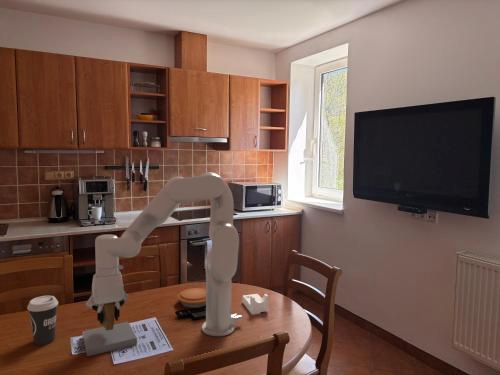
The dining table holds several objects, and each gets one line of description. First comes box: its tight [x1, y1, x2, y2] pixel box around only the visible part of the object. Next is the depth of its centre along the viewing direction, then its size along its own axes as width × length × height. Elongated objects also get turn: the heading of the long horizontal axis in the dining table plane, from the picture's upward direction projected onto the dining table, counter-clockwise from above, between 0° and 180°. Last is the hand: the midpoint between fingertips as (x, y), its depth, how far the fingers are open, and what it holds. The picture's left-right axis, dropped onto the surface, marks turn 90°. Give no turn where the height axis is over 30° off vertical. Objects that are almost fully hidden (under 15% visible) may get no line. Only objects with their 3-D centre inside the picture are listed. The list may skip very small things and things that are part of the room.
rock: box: [100, 302, 116, 331], centre depth 132 cm, size 11×9×10 cm
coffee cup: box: [27, 295, 59, 346], centre depth 132 cm, size 10×10×15 cm
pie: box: [176, 287, 206, 309], centre depth 167 cm, size 15×16×5 cm
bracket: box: [242, 293, 269, 316], centre depth 163 cm, size 13×7×8 cm, turn 19°
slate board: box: [82, 321, 138, 357], centre depth 133 cm, size 16×14×2 cm
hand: (108, 320), depth 133 cm, fingers closed on rock, 4 cm apart
